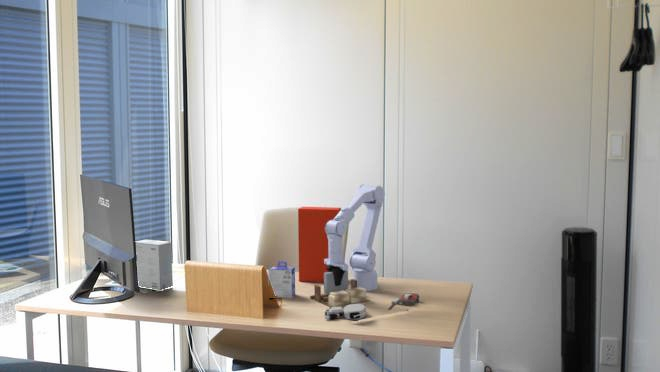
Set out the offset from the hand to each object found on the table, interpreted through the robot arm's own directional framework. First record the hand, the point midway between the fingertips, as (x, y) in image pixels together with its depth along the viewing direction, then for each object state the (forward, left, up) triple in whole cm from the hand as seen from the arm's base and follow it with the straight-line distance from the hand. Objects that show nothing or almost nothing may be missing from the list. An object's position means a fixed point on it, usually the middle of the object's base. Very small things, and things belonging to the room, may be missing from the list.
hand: (336, 284), depth 280 cm
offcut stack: (0, +8, -5) cm, 10 cm away
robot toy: (+10, +22, -7) cm, 25 cm away
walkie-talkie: (-17, +21, -7) cm, 28 cm away
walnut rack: (0, +3, -6) cm, 7 cm away
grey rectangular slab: (0, 0, -3) cm, 3 cm away
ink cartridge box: (+16, -15, -7) cm, 23 cm away
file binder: (-11, -31, -7) cm, 33 cm away
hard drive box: (+54, -59, -7) cm, 80 cm away
